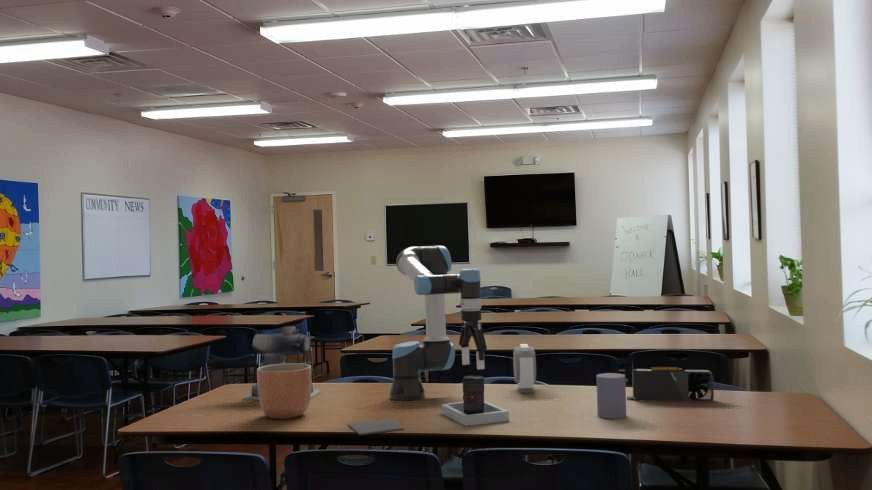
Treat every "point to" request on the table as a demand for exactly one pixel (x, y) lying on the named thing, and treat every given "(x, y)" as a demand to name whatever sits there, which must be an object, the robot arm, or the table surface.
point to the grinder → (279, 351)
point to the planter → (284, 389)
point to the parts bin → (490, 416)
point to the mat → (375, 426)
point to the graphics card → (671, 384)
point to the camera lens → (473, 394)
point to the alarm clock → (524, 367)
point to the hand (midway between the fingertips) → (473, 366)
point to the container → (611, 395)
